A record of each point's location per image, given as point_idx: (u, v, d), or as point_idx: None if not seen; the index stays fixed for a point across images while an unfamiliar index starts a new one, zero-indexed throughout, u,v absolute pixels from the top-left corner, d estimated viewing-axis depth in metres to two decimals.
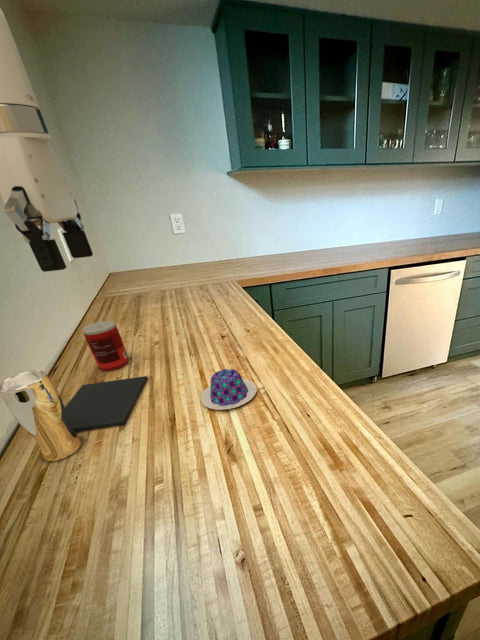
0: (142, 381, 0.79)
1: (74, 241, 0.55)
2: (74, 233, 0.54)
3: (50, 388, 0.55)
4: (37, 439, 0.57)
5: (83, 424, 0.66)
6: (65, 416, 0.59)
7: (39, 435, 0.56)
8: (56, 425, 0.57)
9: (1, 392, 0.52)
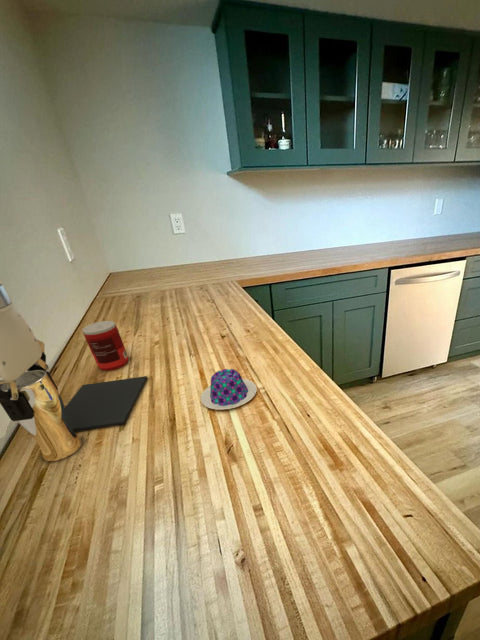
0: (142, 381, 0.79)
1: None
2: None
3: (50, 388, 0.55)
4: (37, 439, 0.57)
5: (83, 424, 0.66)
6: (65, 416, 0.59)
7: (39, 435, 0.56)
8: (56, 425, 0.57)
9: None
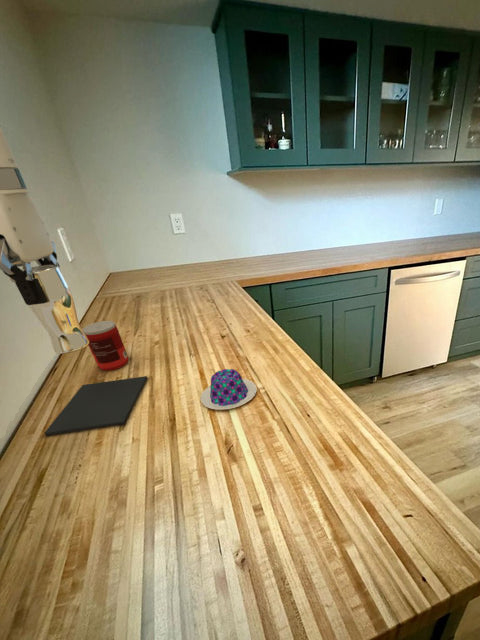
0: (142, 381, 0.79)
1: None
2: None
3: (61, 279, 0.60)
4: (49, 329, 0.61)
5: (83, 424, 0.66)
6: (75, 311, 0.63)
7: (51, 324, 0.60)
8: (67, 317, 0.61)
9: None
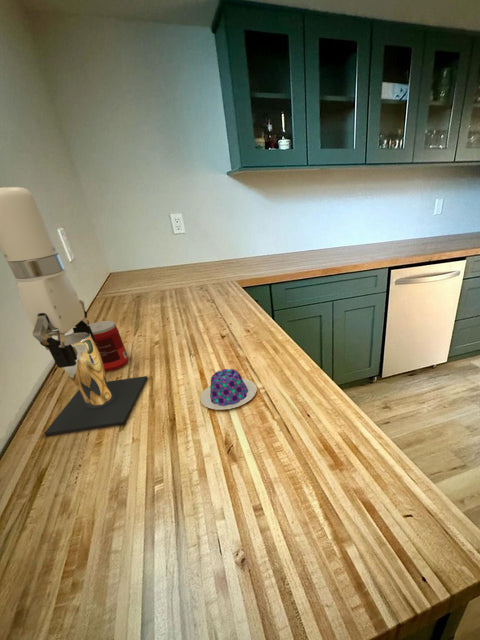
0: (142, 381, 0.79)
1: None
2: (82, 328, 0.69)
3: (93, 346, 0.67)
4: (82, 389, 0.69)
5: (83, 424, 0.66)
6: (104, 372, 0.71)
7: (84, 385, 0.68)
8: (98, 378, 0.69)
9: None
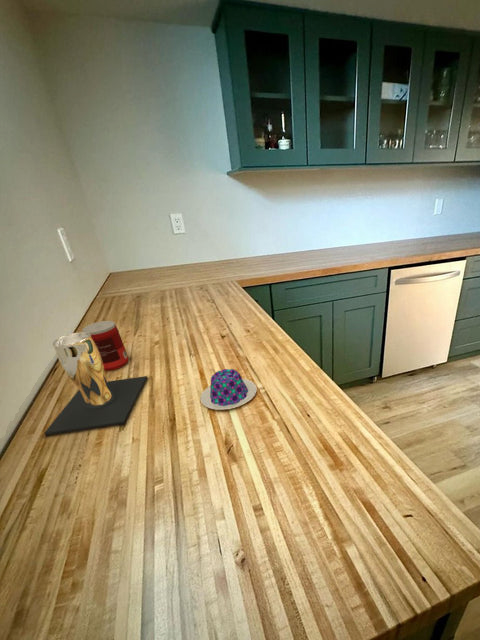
0: (142, 381, 0.79)
1: None
2: None
3: (94, 346, 0.67)
4: (82, 389, 0.69)
5: (83, 424, 0.66)
6: (104, 372, 0.71)
7: (84, 385, 0.68)
8: (98, 378, 0.69)
9: (56, 347, 0.63)
